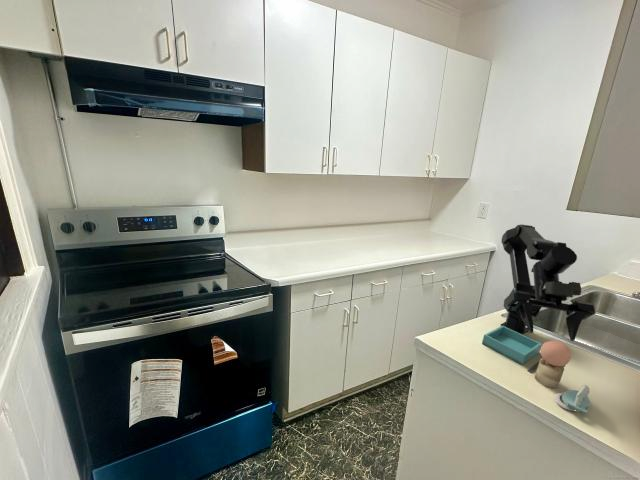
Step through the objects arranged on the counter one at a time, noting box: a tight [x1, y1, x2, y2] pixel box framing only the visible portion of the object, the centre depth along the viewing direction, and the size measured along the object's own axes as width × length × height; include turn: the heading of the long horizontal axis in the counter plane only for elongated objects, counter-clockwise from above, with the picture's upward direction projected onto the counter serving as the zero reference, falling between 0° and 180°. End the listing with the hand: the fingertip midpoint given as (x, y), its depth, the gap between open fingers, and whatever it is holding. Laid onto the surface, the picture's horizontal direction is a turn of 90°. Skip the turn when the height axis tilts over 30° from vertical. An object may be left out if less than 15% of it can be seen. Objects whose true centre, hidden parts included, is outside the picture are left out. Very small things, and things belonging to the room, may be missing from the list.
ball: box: [540, 339, 572, 366], centre depth 78 cm, size 6×6×6 cm
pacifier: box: [554, 384, 591, 413], centre depth 72 cm, size 7×6×6 cm
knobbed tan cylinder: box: [534, 357, 566, 389], centre depth 79 cm, size 5×5×6 cm
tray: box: [481, 325, 543, 366], centre depth 93 cm, size 11×11×3 cm
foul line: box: [527, 361, 539, 374], centre depth 87 cm, size 14×1×1 cm, turn 125°
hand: (551, 336), depth 81 cm, fingers open, 9 cm apart
